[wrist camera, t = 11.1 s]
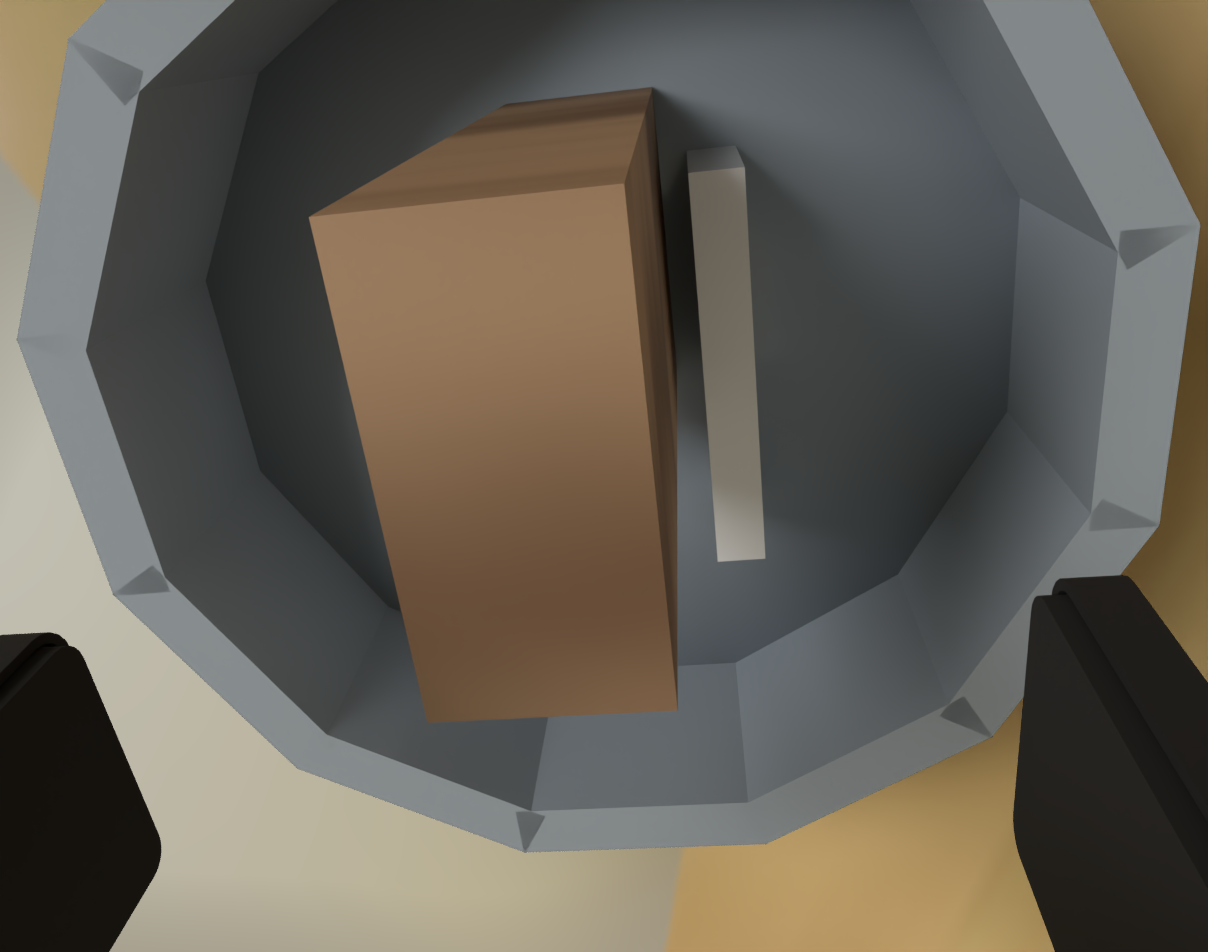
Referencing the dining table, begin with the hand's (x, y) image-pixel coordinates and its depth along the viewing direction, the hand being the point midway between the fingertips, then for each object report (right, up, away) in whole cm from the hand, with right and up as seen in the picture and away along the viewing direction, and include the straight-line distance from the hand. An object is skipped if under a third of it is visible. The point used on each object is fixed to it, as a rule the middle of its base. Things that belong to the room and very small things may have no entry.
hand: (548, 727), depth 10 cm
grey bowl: (+1, +6, +14) cm, 15 cm away
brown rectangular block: (0, +7, +11) cm, 14 cm away
